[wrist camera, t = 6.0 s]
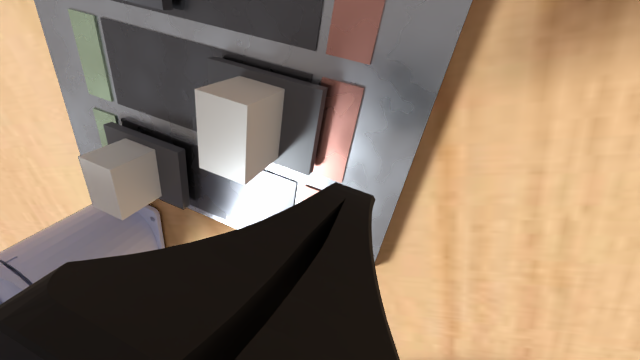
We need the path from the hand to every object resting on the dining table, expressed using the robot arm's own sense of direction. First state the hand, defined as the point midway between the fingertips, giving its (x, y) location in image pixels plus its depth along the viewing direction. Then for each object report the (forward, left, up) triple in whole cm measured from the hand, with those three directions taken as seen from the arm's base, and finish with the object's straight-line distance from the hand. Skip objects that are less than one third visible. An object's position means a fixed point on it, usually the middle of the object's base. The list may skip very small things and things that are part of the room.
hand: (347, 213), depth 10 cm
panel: (0, +11, -7) cm, 13 cm away
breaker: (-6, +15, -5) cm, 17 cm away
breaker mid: (0, +6, -5) cm, 8 cm away
